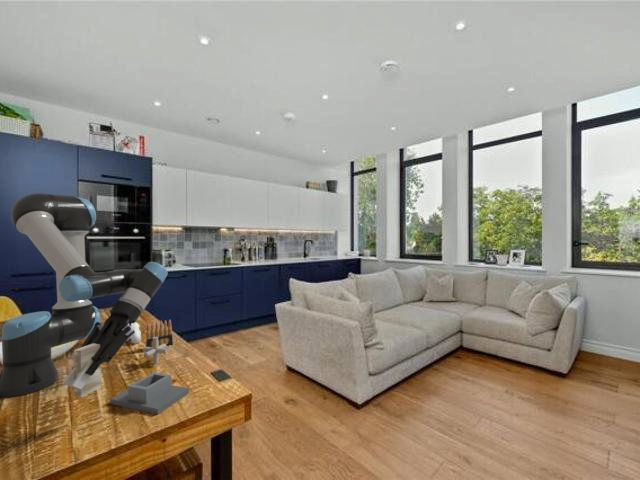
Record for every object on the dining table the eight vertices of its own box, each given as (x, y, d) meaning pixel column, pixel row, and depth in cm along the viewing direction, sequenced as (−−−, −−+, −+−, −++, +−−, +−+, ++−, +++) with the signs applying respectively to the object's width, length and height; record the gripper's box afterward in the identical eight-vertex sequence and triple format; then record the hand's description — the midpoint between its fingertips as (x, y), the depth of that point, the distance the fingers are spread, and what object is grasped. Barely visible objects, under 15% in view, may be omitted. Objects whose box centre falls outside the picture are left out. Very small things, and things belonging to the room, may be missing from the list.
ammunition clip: (146, 351, 130) (146, 323, 130) (145, 350, 131) (145, 322, 131) (172, 345, 137) (172, 318, 137) (171, 344, 139) (171, 318, 139)
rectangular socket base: (110, 403, 90) (109, 385, 90) (144, 384, 101) (144, 368, 101) (158, 414, 84) (157, 394, 84) (189, 392, 96) (188, 375, 96)
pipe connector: (157, 369, 112) (157, 342, 112) (134, 367, 114) (134, 341, 114) (175, 358, 122) (175, 334, 122) (154, 356, 124) (153, 332, 124)
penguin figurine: (138, 319, 149) (145, 327, 140) (138, 336, 149) (144, 344, 141) (123, 321, 144) (129, 329, 136) (123, 339, 145) (129, 348, 136)
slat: (74, 395, 79) (73, 350, 79) (93, 386, 84) (93, 343, 83) (81, 397, 78) (80, 351, 78) (100, 387, 83) (100, 344, 83)
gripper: (157, 315, 93) (104, 396, 77) (119, 310, 98) (62, 386, 82) (142, 301, 88) (82, 386, 72) (102, 297, 92) (38, 375, 77)
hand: (71, 386), depth 77 cm, fingers closed on slat, 2 cm apart
